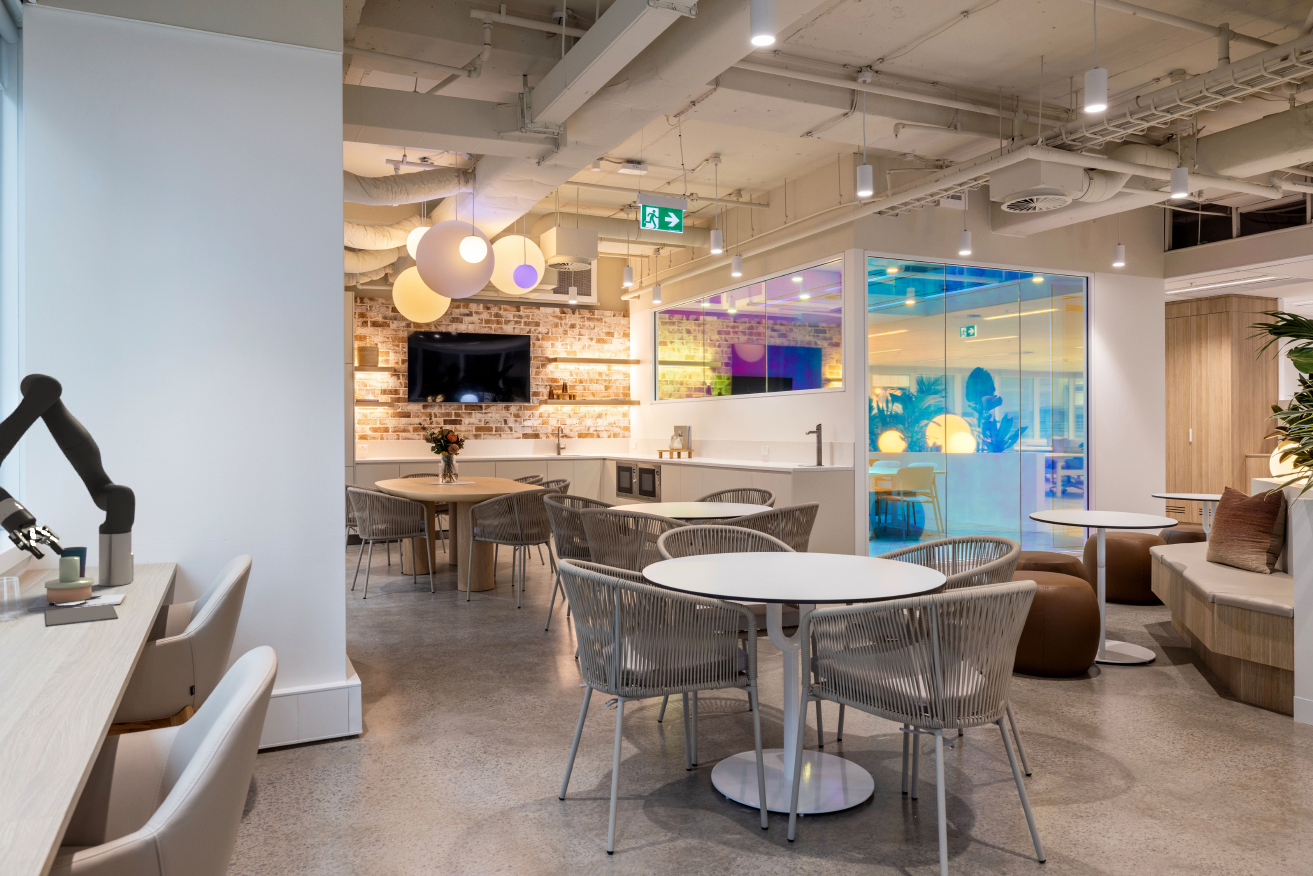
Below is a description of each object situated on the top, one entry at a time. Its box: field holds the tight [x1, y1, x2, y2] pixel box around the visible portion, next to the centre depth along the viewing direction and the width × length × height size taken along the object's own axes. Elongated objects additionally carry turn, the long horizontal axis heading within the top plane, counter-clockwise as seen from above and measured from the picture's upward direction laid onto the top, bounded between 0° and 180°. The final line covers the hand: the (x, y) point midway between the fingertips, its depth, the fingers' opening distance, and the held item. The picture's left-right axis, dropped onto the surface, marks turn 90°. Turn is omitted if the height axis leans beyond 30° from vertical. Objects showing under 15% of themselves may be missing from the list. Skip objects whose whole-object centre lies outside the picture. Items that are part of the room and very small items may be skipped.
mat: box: [45, 603, 119, 627], centre depth 235 cm, size 22×16×1 cm
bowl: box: [46, 584, 93, 603], centre depth 249 cm, size 11×11×6 cm
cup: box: [60, 546, 88, 578], centre depth 259 cm, size 7×7×15 cm
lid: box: [44, 557, 95, 590], centre depth 249 cm, size 12×12×8 cm
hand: (52, 555), depth 248 cm, fingers open, 8 cm apart
